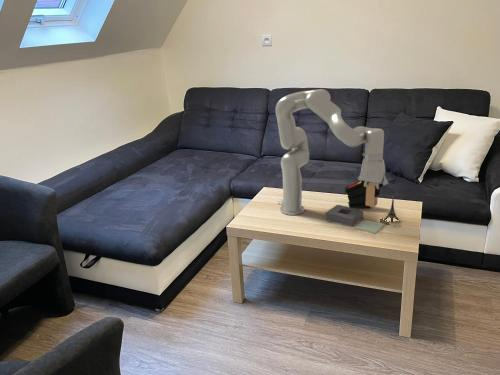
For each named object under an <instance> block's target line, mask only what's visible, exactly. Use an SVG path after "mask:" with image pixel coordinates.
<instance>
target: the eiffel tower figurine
mask: <svg viewBox="0 0 500 375" xmlns="http://www.w3.org/2000/svg"><path fill="white" fill-rule="evenodd" d="M391 198H392V200H391V206H390V209H389V212H388V213H387V215H386V216H385V217H382V219H380V218H379V224H383V225H384V226H391V223H392V224H393V223H394V222H393V218H395V219H397V220H399V221H400V219H399V218H398V217H397V214H396V212H395V208H394V207H395V206H394V205H395V202H394V200H395V197H394V196H392V197H391ZM389 217H390V218H391V222H390V221H389V222H387V220H386V219H387V218H389ZM383 218H384V220H383ZM385 220H386V221H385ZM389 223H390V224H389ZM393 227H396V225H395V224H394V225H393ZM399 227H400V228H401V227H402V226H401V225H399Z"/></svg>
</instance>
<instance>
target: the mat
mask: <svg viewBox="0 0 500 375" xmlns="http://www.w3.org/2000/svg"><path fill="white" fill-rule="evenodd" d="M384 226H385V225H384V224H382V223H380V222H379V223H378V222H373V221H369V220H366V219H364V220H362V221H361V222H360V223H358V225H356V226H355V227H354V229H355V230H356V229H357V230H361V231H363V232H369V233H372V234H374V235H375V234H377V233H378V232H379V231H380V230H381V229H382V228H383V227H384Z"/></svg>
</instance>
